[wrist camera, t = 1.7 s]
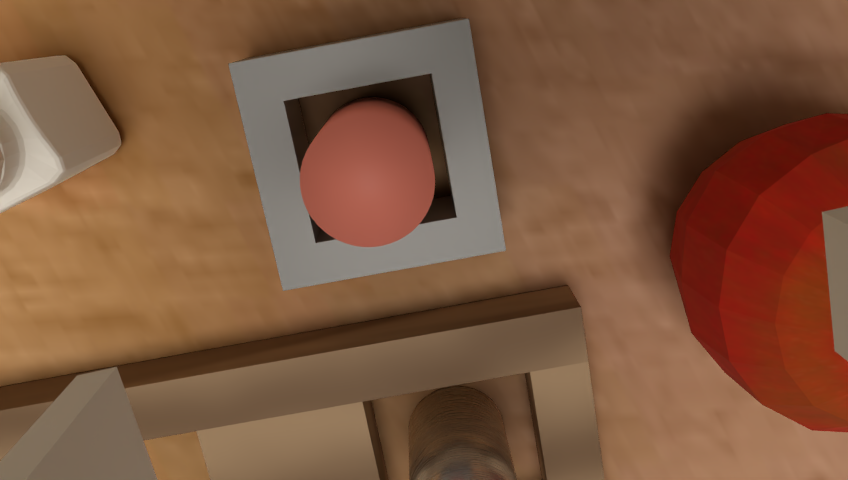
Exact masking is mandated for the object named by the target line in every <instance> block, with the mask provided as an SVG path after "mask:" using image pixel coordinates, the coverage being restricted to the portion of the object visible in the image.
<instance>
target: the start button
mask: <svg viewBox="0 0 848 480" xmlns="http://www.w3.org/2000/svg"><path fill="white" fill-rule="evenodd" d="M300 189H301V195H302V198H303V202H304V204H305V206H306V209H307V211H308V213H309V214H310V216H311V217H312V219H313V220H314V221H315V223H316V224H317V225H318V226H319V227H320V228H321V229H322V230H323V231H324V232H326V233H327V234H329V235H330V236H331V237H333V238H335V239H337V240H339V241H341V242H344V243H346V244H350V245H353V246H359V247H378V246H383V245H387V244H390V243H393V242H396V241H398V240H400V239H402V238H403V237H405V236H406V235H408V234H409V233H411V232H412V231H413V230H414V229H415V228H416V227H417V226H418V225H419V224H420V223H421V221H422V220H423V219H424V217H425V215H426V214H427V212H428V210H429V208H430V206H431V203H432V200H433V196H434V190H435V174H434V167H433V162H432V157H431V152H430V147H429V143H428V139H427V135H426V133H425V130H424V128H423V127H422V125H421V123H420V122H419V120H418V119H417V118H416V117H415V116H414V115H413V114H412V112H410V111H409V110H408V109H407V108H405V107H404V106H402V105H400V104H399V103H396V102H394V101H392V100H388V99H385V98H378V97H368V98H361V99H357V100H354V101H351V102H349V103H347V104H345V105H343V106H341V107H340V108H339V109H338V110H336V111H335V112H334V113H333V114H332V115H331V116H330V117H329V119H328V120H327V121H326V123H325V124H324V126H323V127H322V128H321V130H320V131H319V133H318V134H317V136H316V137H315V138H314V140H313V141H312V143H311V144H310V146H309V148H308V149H307V151H306V153H305V156H304V158H303V161H302V165H301V171H300Z"/></svg>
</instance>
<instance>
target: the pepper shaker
mask: <svg viewBox="0 0 848 480" xmlns="http://www.w3.org/2000/svg"><path fill="white" fill-rule="evenodd" d="M120 146H121V139H120V135H119V131H118V130H117V128H116V127H115V125H114V123H113V122H112V120H111V119H110V117H109V115H108V114H107V112H106V111H105V109H104V107H103V106H102V104H101V102H100V101H99V99H98V98H97V96H96V94H95V93H94V91H93V90H92V88H91V86H90V85H89V83H88V82H87V80H86V78H85V77H84V75H83V74H82V72H81V70H80V69H79V67H78V66H77V64H76V63H75V62H74V61H72V60H71V59H70V58H68V57H67V56H66V55H62V56H51V57H43V58H35V59H27V60H19V61H11V62H3V63H0V213H2V212H4V211H6V210H8V209H10V208H12V207H14V206H16V205H18V204H20V203H22V202H24V201H26V200H28V199H30V198H32V197H34V196H36V195H38V194H40V193H42V192H44V191H46V190H48V189H50V188H52V187H54V186H56V185H58V184H60V183H61V182H63V181H65V180H67V179H69V178H71V177H73V176H74V175H76V174H78V173H80V172H82V171H84V170H86V169H87V168H89V167H91V166H93V165H95V164H97V163H99V162H100V161H102V160H104V159H106V158H108V157H110V156H112V155H113V154H115V152H116V151H117V150H118V148H119V147H120Z"/></svg>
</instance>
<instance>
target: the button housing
mask: <svg viewBox="0 0 848 480" xmlns="http://www.w3.org/2000/svg"><path fill="white" fill-rule="evenodd" d="M229 69H230V73H231V77H232V81H233V85H234V89H235V93H236V98H237V102H238V106H239V110H240V114H241V118H242V122H243V127H244V131H245V135H246V139H247V143H248V147H249V151H250V156H251V160H252V164H253V168H254V172H255V176H256V180H257V185H258V189H259V193H260V197H261V201H262V205H263V209H264V214H265V218H266V222H267V226H268V230H269V234H270V238H271V243H272V247H273V251H274V255H275V259H276V263H277V267H278V272H279V276H280V280H281V284H282V288H283V291H285V290H290V289H296V288H301V287H307V286H313V285H318V284H324V283H329V282H335V281H340V280H346V279H351V278H357V277H362V276H368V275H373V274H379V273H385V272H390V271H396V270H401V269H407V268H412V267H418V266H423V265H429V264H434V263H440V262H446V261H451V260H457V259H462V258H468V257H473V256H479V255H484V254H490V253H495V252H501V251H506V248H505V241H504V235H503V229H502V223H501V216H500V210H499V204H498V198H497V191H496V185H495V179H494V173H493V166H492V160H491V154H490V148H489V141H488V135H487V129H486V123H485V116H484V110H483V104H482V98H481V91H480V85H479V79H478V73H477V66H476V60H475V54H474V48H473V41H472V35H471V29H470V23H469V19H467V18H459V19H453V20H448V21H443V22H437V23H432V24H427V25H421V26H416V27H411V28H405V29H400V30H395V31H389V32H384V33H379V34H373V35H368V36H363V37H357V38H352V39H347V40H341V41H336V42H331V43H325V44H320V45H315V46H309V47H304V48H299V49H293V50H288V51H283V52H277V53H272V54H267V55H261V56H256V57H251V58H246V59H243V60H239V61H236V62H233V63H229ZM425 74H430V79H431V85H432V90H433V96H434V102H435V107H436V113H437V119H438V124H439V130H440V136H441V142H442V147H443V153H444V159H445V164H446V170H447V176H448V181H449V187H450V193H451V196H447V197H441V198H436V199H433V200H432V203H431V206H430V208H429V210H428V212H427V214H426V215H425V217H424V219H423V220H422V221H421V223H420V224H419V225H418V226H417V227H416V228H415V229H414V230H413V231H412V232H411V233H409V234H408V235H406V236H405V237H403V238H402V239H400V240H398V241H396V242H393V243H390V244H387V245H383V246H378V247H359V246H353V245H350V244H346V243H344V242H341V241H339V240H337V239H335V238H333V237H331V236H330V235H329V234H327V233H326V232H324V231H323V230H322V229H321V228H320V227H319V226H318V225H317V224H316V223H315V221H314V220H313V219H312V217H311V216H310V214H309V213H308V211H307V209H306V206H305V204H304V202H303V198H302V195H301V189H300V171H301V165H302V161H303V158H304V156H305V153H306V151H307V149H308V148H309V145H308V140H307V136H306V131H305V127H304V122H303V118H302V113H301V109H300V104H299V100H298V98H301V97H307V96H312V95H318V94H323V93H328V92H334V91H339V90H344V89H350V88H355V87H361V86H366V85H371V84H377V83H382V82H387V81H393V80H398V79H404V78H409V77H414V76H420V75H425Z"/></svg>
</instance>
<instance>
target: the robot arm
mask: <svg viewBox="0 0 848 480" xmlns="http://www.w3.org/2000/svg"><path fill="white" fill-rule="evenodd" d="M822 218H823V229H824V240H825V251H826V262H827V273H828V284H829V295H830V305H831V316H832V327H833V338H834V349H835V352H837V353H838V354H839V355H840V356H842V357H843V358H844V359H845V360H847V361H848V206H847V207H842V208H838V209H833V210H829V211H824V212H822ZM0 480H157V477H156V474H155V472H154V469H153V466H152V463H151V461H150V458H149V455H148V452H147V449H146V447H145V444H144V441H143V438H142V436H141V433H140V430H139V427H138V424H137V422H136V419H135V416H134V413H133V411H132V408H131V405H130V402H129V399H128V397H127V394H126V391H125V388H124V386H123V383H122V380H121V377H120V374H119V372H118V369H117V367H113V368H109V369H104V370H100V371H95V372H91V373H86V374H81V375H77V376H76V377H75V378H74V379H73V381H72V382H71V383H70V384H69V385H68V386H67V387H66V388H65V390H64V391H63V392H62V393H61V394H60V395H59V396H58V397H57V398H56V400H55V401H54V402H53V403H52V404H51V405H50V406H49V407H48V408H47V410H46V411H45V412H44V413H43V414H42V415H41V416H40V417H39V419H38V420H37V421H36V422H35V423H34V424H33V425H32V426H31V427H30V429H29V430H28V431H27V432H26V433H25V434H24V435H23V436H22V438H21V439H20V440H19V441H18V442H17V443H16V444H15V445H14V446H13V448H12V449H11V450H10V451H9V452H8V453H7V454H6V455H5V457H4V458H3V459H2V460H1V461H0Z"/></svg>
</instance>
